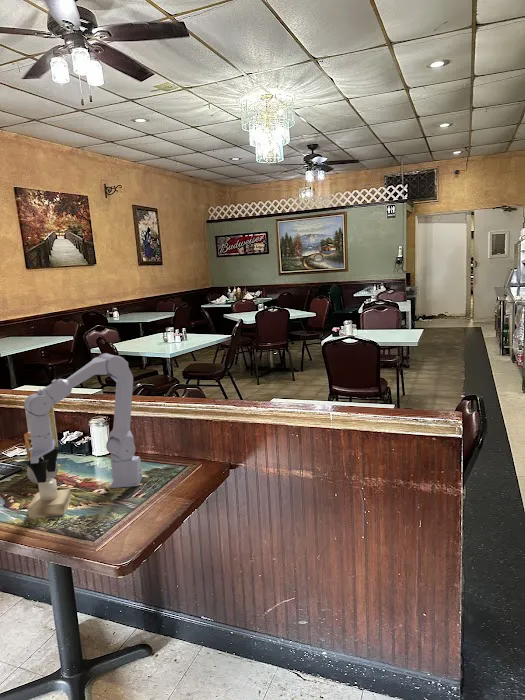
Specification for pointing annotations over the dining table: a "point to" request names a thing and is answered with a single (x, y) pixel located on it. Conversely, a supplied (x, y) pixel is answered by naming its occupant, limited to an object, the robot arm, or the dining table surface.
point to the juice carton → (52, 422)
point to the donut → (49, 474)
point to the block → (49, 505)
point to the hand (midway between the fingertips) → (46, 476)
